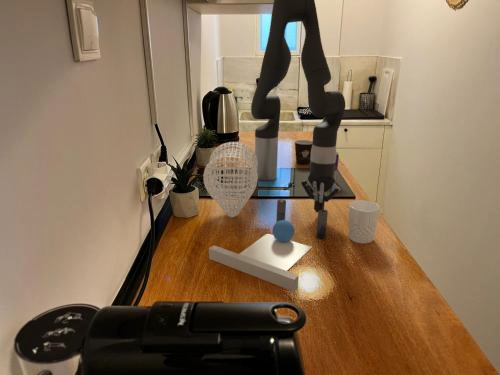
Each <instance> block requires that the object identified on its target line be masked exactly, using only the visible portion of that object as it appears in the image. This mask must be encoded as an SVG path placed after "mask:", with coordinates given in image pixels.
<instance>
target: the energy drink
mask: <svg viewBox="0 0 500 375" xmlns="http://www.w3.org/2000/svg"><path fill="white" fill-rule="evenodd" d="M339 156H340V155H339V152H337V151H336V162H335V173H334V179H335V184H336V183H337V179H338V168H339Z"/></svg>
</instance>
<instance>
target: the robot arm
mask: <svg viewBox="0 0 500 375" xmlns="http://www.w3.org/2000/svg"><path fill="white" fill-rule="evenodd" d="M299 22H301V23H302V26H303V28H304V32H305V33H304V34H305V35H304V40H303V45H302V49H301V53H300V54H301V55H300V61H301V62H300V64H301V66H302V70H303V74H304V76H305V77H304V78H305V80H306V83H307V98H308V99H307V104H308V109H309V111H310V112H311V113H312V115H313V116H315V117H316V118H323V119H322V121H321V122H320V123H318V124H316V125H315V126H314V128H313V131H312V141H313V142H312V149H311V158H310V164H309V175H308V176H307V179H304V180H303V181H301V182H300V184H301V185H302V187H303V190H304V191H305V193H306V194H307V196H308V198H309V199H312V200H314V204H313V209H314V211H315V213H318V211H319V210H325V203H328V202H329V201H330V200H332V199H333V198H334V197H335V196H336V195H337V194H338V193H339V192H340V191H341V190H342V187H341V186H338V185H337V184H336V183H335V179H334V173H335V162H336V152H337V141H338V140H337V139H338V131H339V128H340V126H341V123H342V120H343V117H344V115H345V114H344V113H345V110H346V99H345V97H344V95H343V93H342V92H340V91H336V90H330V91H326V89H325V86H326V85H328V84H329V83H330V82H331V80H332V74H331V70H330V67H329V64H328V61H327V58H326V56H325V51H324V47H323V44H322V38H321V31H320V25H319V24H320V23H319V18H318V12H317V7H316V1H315V0H273V4H272V10H271V18H270V26H269V31H268V32H269V33H268V38H267V42H266V47H265V50H264V54H263V58H262V63H261V68H260V73H259V78H258V81H257V85H256V88H255V92H254V94H253V97H252V100H251V104H250V105H251V106H250V112H251V115H252V118H254V119H255V120H267V122H266V123H265V124H263V125H261V126H258V127H256V128H255V131H254V153H255V154H256V156H257V161H258V168H257V174H258V180H259V181H272V180H276V179H277V176H278V154H279V151H278V150H279V149H278V148H279V146H278V145H279V130H280V120H281V119H280V117H281V110H282V109H281V107H282V106H281V99H280V97H279V95H278V94H277V95H276V94H269V93H270V92H272V91H273V89H274V88H275V87H277V86H278V85H279V84H280V83H281V82H282V81H283V80H284V79H285V78H286V76H287V74H288V72H289V68H290V66H291V65H290V64H291V62H292V52H291V49H290V47H289V44H288V43H287V41H286V38H285V34H286V28H287V25H288V24H289V23H299ZM254 156H255V155H254ZM254 159H255V158H254ZM253 161H254V160H253ZM255 166H256V165H255ZM330 189H331V192H330V193H329V194H328V191H329V190H330ZM327 194H328V195H327Z"/></svg>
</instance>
